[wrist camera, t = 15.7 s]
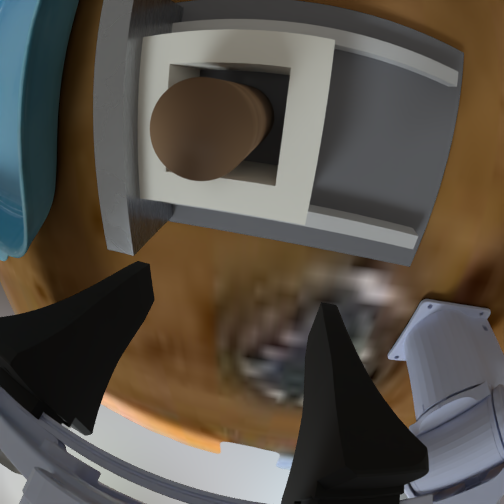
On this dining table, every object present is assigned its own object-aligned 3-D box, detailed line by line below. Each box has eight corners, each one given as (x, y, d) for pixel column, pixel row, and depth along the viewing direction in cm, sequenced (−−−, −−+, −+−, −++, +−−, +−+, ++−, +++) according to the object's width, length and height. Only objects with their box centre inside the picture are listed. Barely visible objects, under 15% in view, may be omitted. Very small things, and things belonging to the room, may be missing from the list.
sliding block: (328, 54, 12) (335, 39, 8) (306, 197, 17) (304, 225, 13) (177, 46, 13) (143, 37, 9) (171, 177, 18) (140, 198, 14)
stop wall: (183, 7, 11) (137, -17, 7) (173, 215, 19) (133, 255, 15) (156, 11, 11) (104, -6, 7) (149, 211, 20) (107, 249, 15)
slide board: (458, 54, 10) (472, 51, 8) (406, 260, 18) (414, 276, 17) (159, 9, 12) (144, 2, 10) (152, 213, 21) (139, 224, 19)
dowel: (277, 87, 14) (257, 78, 8) (270, 151, 16) (247, 187, 10) (210, 83, 14) (150, 79, 8) (207, 145, 16) (150, 176, 10)
